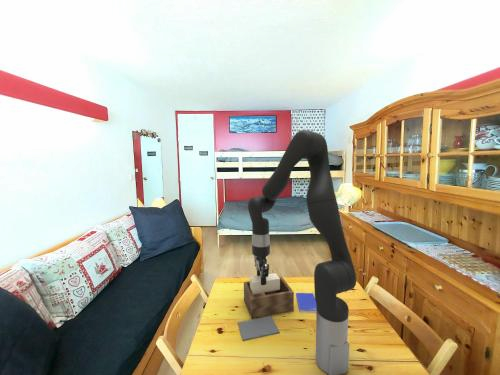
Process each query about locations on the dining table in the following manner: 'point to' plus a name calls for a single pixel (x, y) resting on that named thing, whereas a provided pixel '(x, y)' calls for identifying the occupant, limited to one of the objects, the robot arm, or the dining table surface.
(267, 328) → the mat
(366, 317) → the dining table surface
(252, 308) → the wooden box
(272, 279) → the block
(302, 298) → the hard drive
